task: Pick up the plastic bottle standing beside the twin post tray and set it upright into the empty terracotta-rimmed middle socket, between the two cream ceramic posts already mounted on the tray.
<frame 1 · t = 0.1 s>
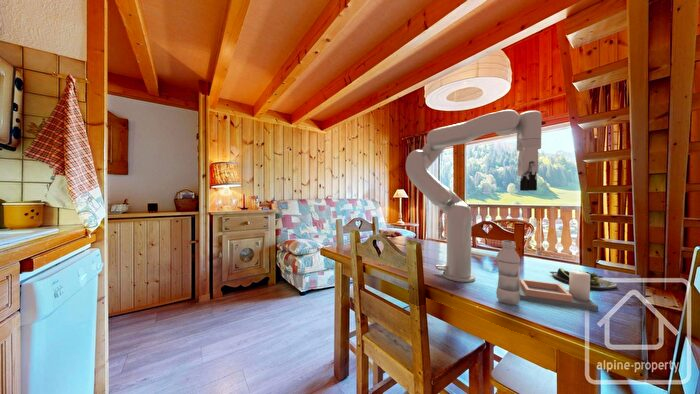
hand: (527, 190, 94), 37 cm above the table, tool pointing down, fingers open, 9 cm apart
plastic bottle: (507, 303, 80), on the table
twin post tray: (543, 296, 85), on the table
salad plate: (580, 283, 100), on the table
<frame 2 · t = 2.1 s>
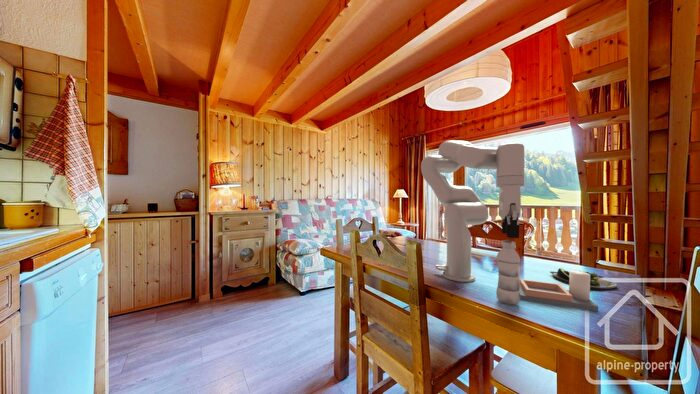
hand: (510, 235, 79), 22 cm above the table, tool pointing down, fingers open, 9 cm apart
nothing on the table moved.
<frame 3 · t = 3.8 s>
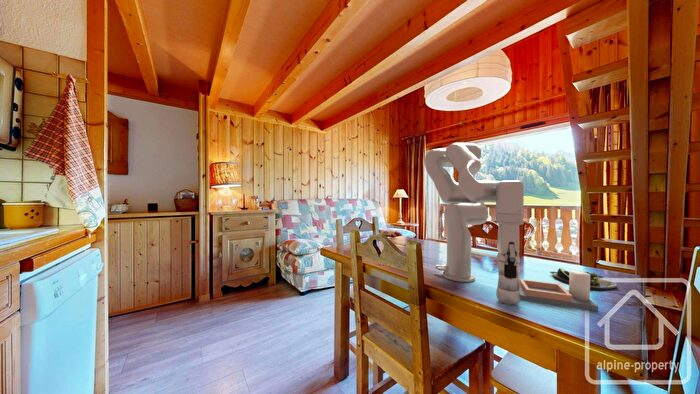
hand: (508, 273, 80), 10 cm above the table, tool pointing down, fingers closed on plastic bottle, 6 cm apart
plastic bottle: (507, 303, 80), on the table, touching gripper
everything else where it was.
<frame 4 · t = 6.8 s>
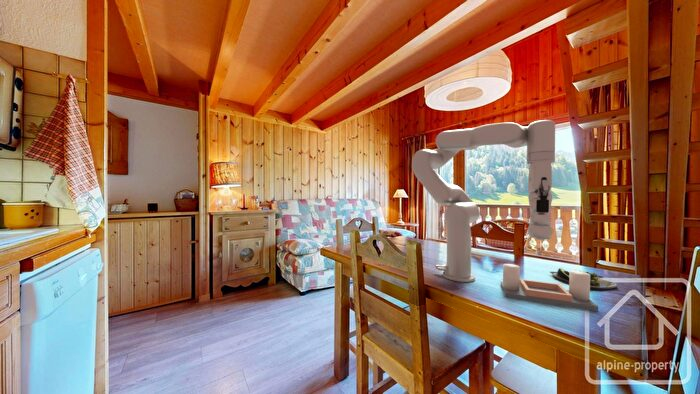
hand: (539, 211, 84), 30 cm above the table, tool pointing down, fingers closed on plastic bottle, 6 cm apart
plastic bottle: (539, 240, 84), point 20 cm above the table, touching gripper
everything else where it was.
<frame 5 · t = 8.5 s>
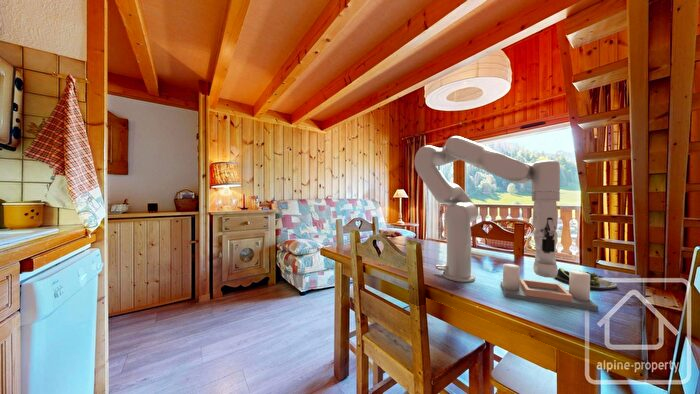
hand: (545, 248, 85), 17 cm above the table, tool pointing down, fingers closed on plastic bottle, 6 cm apart
plastic bottle: (545, 277, 85), point 7 cm above the table, touching gripper
everything else where it was.
when the fingers open (12 cm above the table, at t = 9.8 s): plastic bottle stays where it is, resting on twin post tray.
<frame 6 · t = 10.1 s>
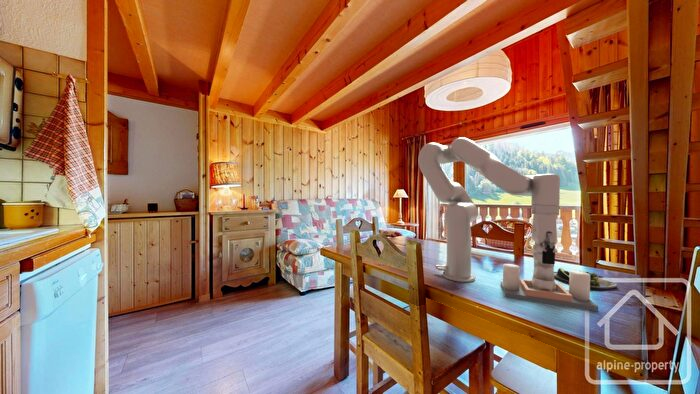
hand: (544, 260, 85), 13 cm above the table, tool pointing down, fingers open, 9 cm apart
plastic bottle: (543, 292, 85), point 1 cm above the table, touching twin post tray
everything else where it was.
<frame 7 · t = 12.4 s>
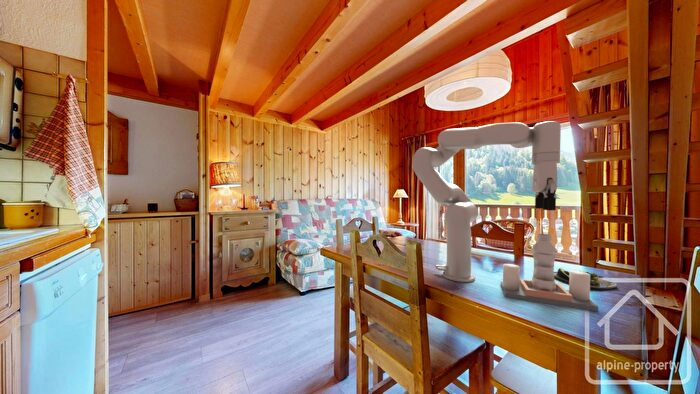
hand: (544, 209, 85), 30 cm above the table, tool pointing down, fingers open, 9 cm apart
nothing on the table moved.
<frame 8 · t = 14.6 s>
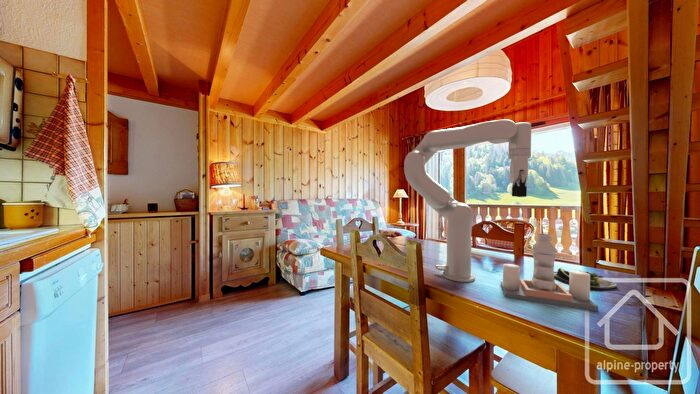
hand: (518, 196, 100), 34 cm above the table, tool pointing down, fingers open, 9 cm apart
nothing on the table moved.
at the end: plastic bottle 0.1 cm off-centre on the twin post tray, point 1.3 cm above the twin post tray's base; plastic bottle tilted 0°; the gripper is holding nothing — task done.
